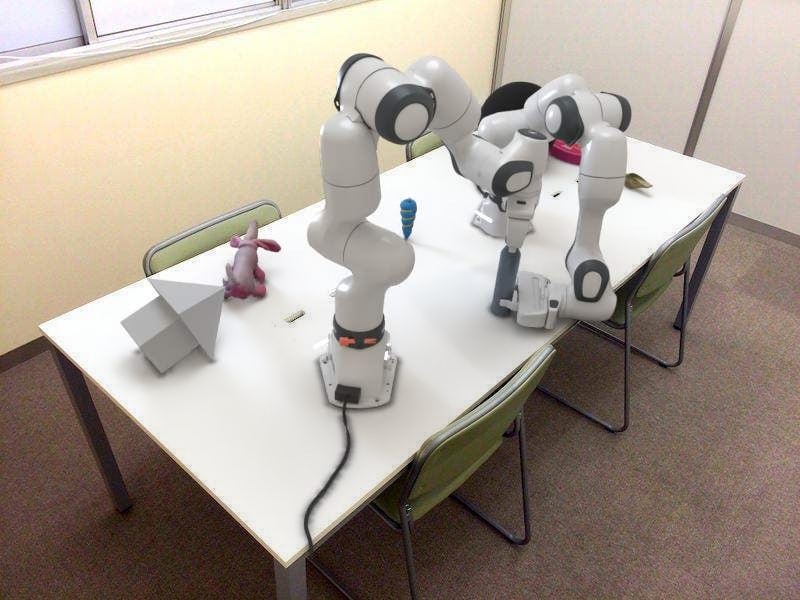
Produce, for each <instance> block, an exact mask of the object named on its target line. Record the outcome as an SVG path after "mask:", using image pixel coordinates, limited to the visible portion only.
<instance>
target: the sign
mask: <svg viewBox="0 0 800 600" xmlns="http://www.w3.org/2000/svg"><path fill="white" fill-rule="evenodd" d="M548 154H550V155H551V156H552V157H554V158H556V159H559V160H561V161H563V162H566V163H570V164H573V165H578V166H580V162H581V149H580V147H579V145H578V144H577V143H575V144H574V145H572V146H567V145H566V144H565V143H564V142H562V141H560V140H557V139H556V141H555V143H554V145H553V146H552V147H551V149H550V150H549V151H548Z"/></svg>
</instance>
